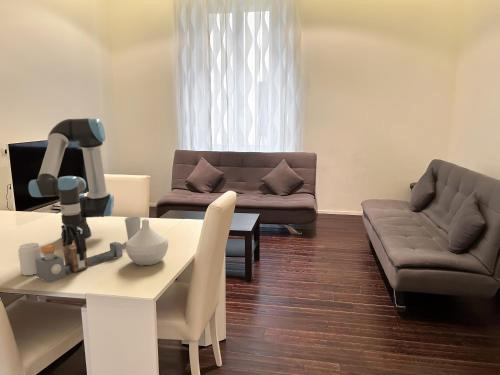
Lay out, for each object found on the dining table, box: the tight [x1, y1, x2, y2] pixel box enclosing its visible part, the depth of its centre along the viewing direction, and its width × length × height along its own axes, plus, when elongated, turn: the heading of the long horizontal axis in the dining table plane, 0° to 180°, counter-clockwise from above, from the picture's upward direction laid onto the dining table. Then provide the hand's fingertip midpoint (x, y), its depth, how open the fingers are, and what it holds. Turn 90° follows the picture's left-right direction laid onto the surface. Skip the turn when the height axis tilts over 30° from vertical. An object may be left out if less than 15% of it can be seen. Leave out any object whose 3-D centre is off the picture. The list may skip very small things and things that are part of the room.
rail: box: [64, 241, 123, 275], centre depth 181 cm, size 5×29×6 cm, turn 143°
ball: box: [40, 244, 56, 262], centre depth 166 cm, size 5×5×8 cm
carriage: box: [62, 242, 89, 273], centre depth 176 cm, size 7×6×10 cm
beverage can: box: [18, 242, 42, 276], centre depth 172 cm, size 8×8×12 cm
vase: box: [124, 218, 169, 266], centre depth 182 cm, size 18×18×19 cm
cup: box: [124, 216, 142, 241], centre depth 215 cm, size 8×8×12 cm
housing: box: [35, 254, 66, 283], centre depth 167 cm, size 9×7×8 cm
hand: (76, 265), depth 176 cm, fingers closed on carriage, 7 cm apart
